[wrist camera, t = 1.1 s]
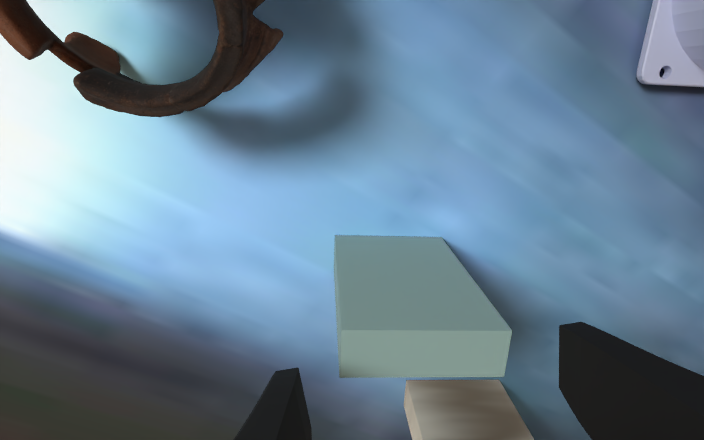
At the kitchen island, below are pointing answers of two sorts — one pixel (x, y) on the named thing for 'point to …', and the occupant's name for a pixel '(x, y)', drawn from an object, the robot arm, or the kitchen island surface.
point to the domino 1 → (412, 311)
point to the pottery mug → (132, 96)
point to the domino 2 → (462, 411)
